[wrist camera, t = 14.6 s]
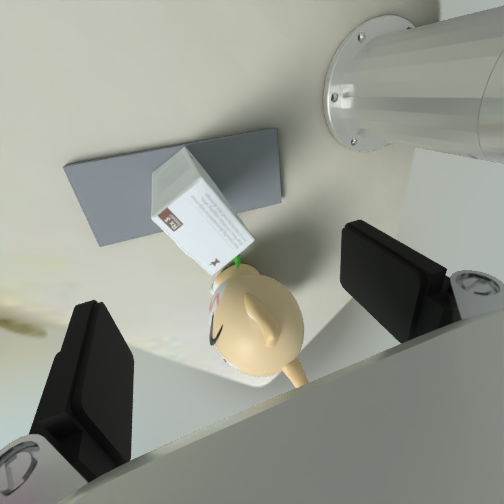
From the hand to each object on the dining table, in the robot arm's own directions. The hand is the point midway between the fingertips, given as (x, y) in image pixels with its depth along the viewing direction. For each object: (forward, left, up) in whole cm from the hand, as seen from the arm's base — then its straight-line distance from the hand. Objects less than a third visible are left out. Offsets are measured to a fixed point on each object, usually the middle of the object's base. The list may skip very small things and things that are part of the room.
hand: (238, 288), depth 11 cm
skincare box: (0, +1, -20) cm, 20 cm away
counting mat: (0, +2, -21) cm, 21 cm away
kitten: (-3, +15, -21) cm, 26 cm away
